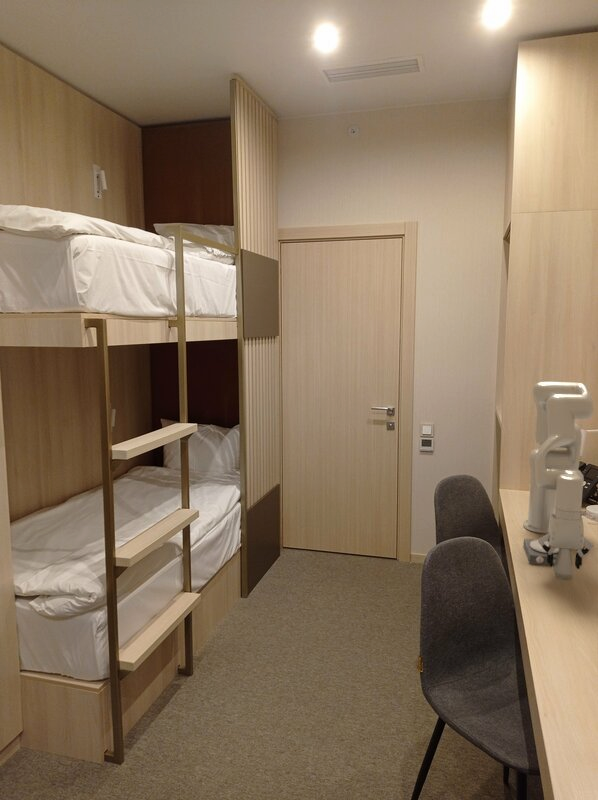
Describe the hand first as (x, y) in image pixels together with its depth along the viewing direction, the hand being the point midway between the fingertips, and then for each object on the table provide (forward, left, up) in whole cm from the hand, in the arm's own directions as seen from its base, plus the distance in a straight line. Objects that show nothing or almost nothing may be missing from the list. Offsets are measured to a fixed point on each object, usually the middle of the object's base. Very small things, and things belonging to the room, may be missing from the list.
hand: (563, 565), depth 186 cm
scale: (-15, -3, -4) cm, 16 cm away
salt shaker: (0, 0, -4) cm, 4 cm away
